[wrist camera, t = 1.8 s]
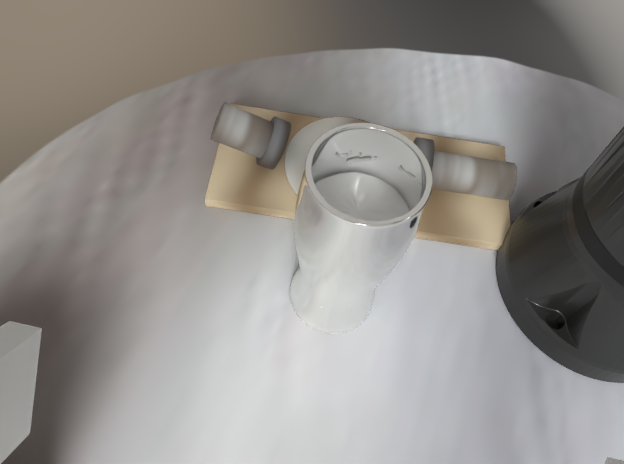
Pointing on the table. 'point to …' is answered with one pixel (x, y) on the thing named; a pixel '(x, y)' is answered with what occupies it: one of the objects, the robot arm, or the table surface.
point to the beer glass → (354, 221)
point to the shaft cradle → (307, 129)
